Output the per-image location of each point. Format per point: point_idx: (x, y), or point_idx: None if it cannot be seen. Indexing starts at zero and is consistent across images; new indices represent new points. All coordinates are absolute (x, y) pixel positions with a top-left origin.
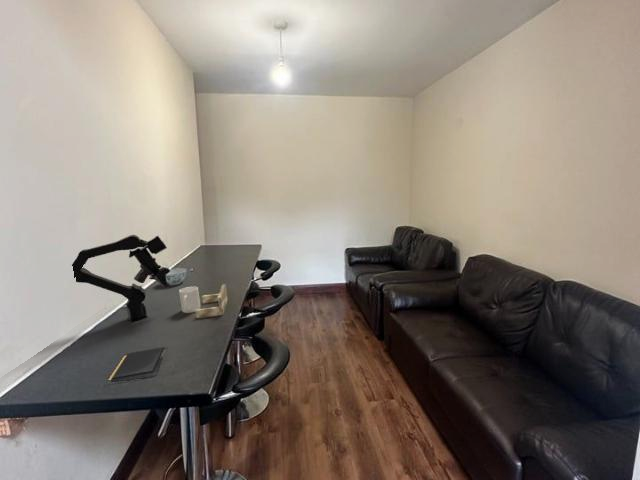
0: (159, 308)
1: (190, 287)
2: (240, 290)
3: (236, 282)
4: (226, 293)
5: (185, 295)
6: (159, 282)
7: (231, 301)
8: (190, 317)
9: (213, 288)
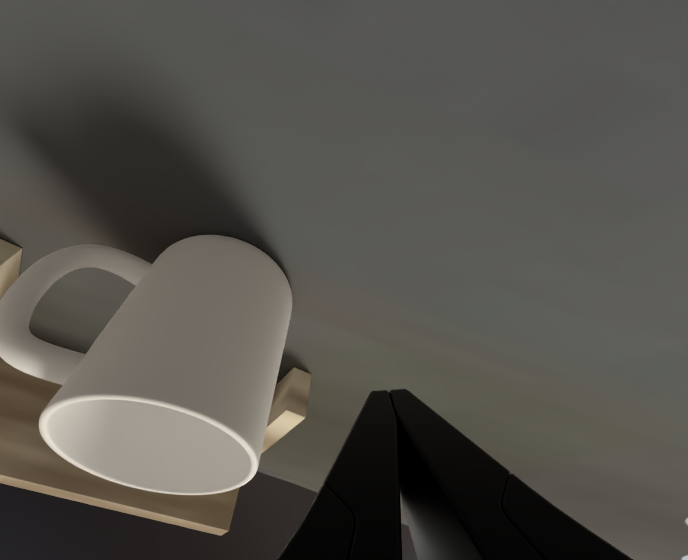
0: (546, 146)
1: (241, 473)
2: None
3: None
4: None
5: (27, 372)
6: (440, 484)
7: None
8: (43, 218)
9: None
